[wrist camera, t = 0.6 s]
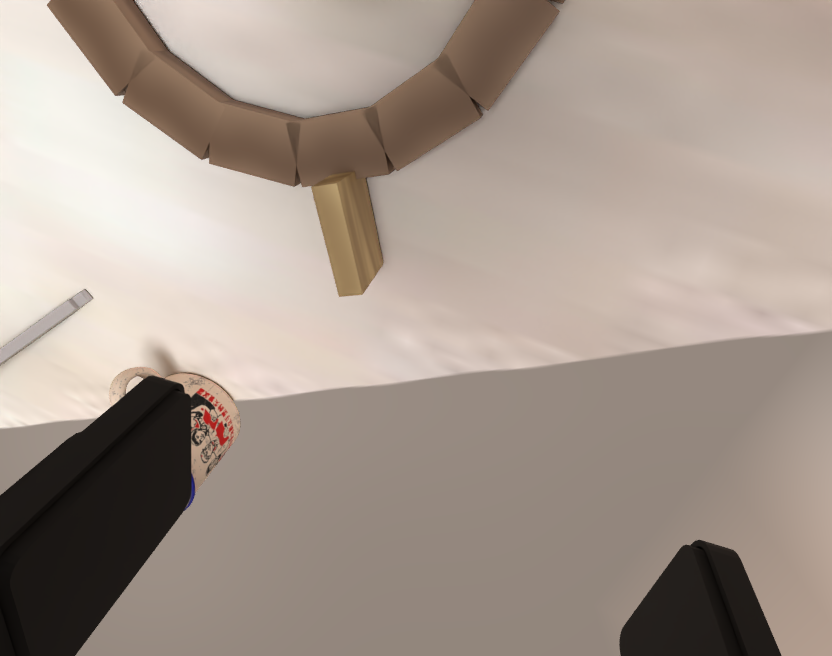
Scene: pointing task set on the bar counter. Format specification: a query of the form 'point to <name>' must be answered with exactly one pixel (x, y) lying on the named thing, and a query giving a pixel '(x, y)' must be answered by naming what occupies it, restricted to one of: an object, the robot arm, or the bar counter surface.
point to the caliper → (44, 325)
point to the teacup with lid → (196, 419)
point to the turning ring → (317, 136)
